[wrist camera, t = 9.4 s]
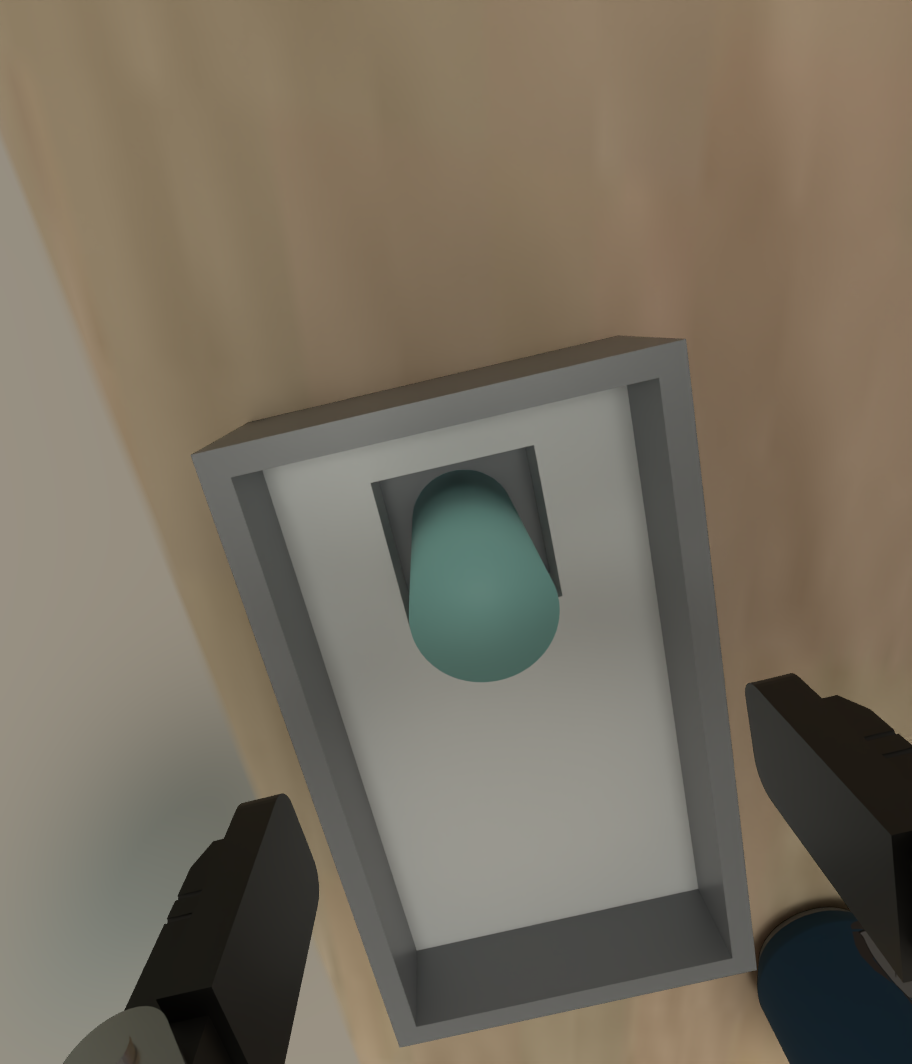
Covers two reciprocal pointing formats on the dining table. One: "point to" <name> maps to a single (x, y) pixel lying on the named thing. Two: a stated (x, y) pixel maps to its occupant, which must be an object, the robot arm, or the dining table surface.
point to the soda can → (833, 992)
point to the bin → (505, 686)
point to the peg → (477, 581)
